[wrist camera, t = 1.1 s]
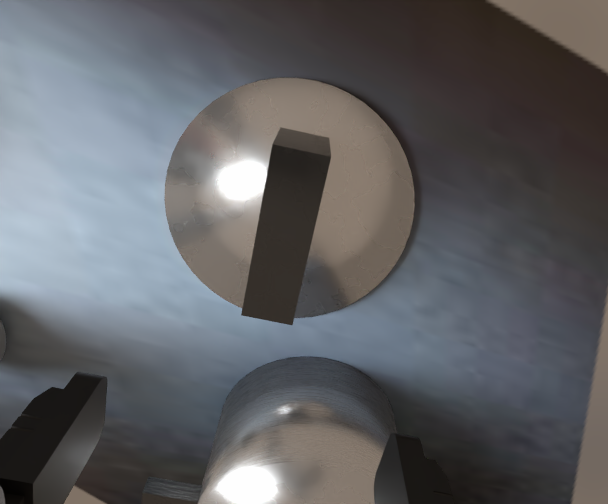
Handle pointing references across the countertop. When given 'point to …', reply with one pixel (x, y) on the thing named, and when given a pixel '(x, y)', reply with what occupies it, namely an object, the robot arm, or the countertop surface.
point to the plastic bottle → (2, 340)
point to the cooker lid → (289, 198)
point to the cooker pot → (292, 439)
